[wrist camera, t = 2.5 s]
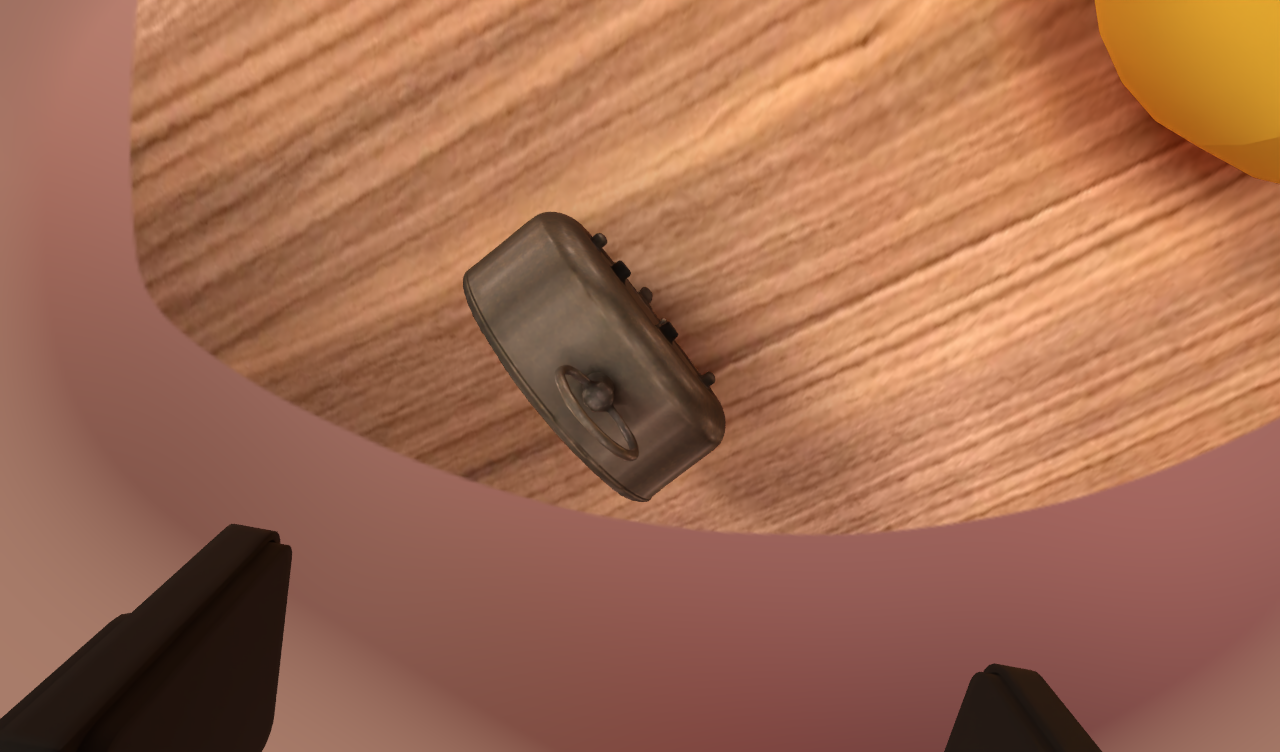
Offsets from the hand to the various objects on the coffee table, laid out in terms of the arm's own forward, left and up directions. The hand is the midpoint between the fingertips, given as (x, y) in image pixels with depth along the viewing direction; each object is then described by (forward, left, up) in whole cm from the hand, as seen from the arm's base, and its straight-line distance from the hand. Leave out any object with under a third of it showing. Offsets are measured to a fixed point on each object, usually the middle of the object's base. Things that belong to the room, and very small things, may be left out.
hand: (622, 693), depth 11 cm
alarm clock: (-1, 0, -27) cm, 27 cm away
